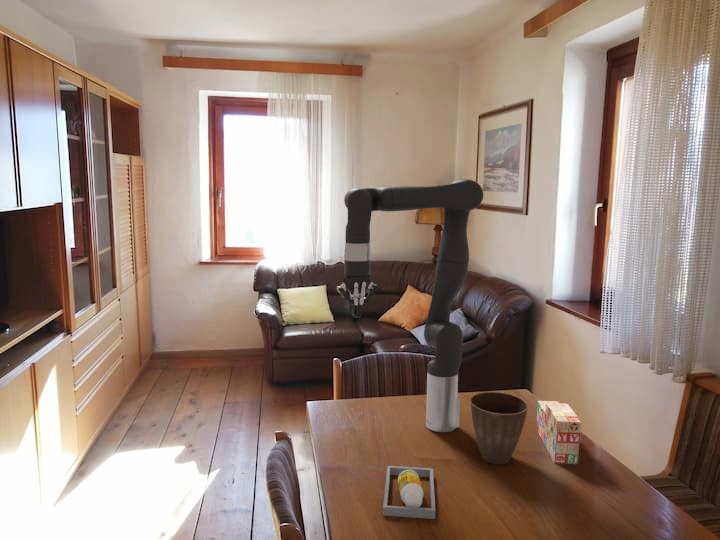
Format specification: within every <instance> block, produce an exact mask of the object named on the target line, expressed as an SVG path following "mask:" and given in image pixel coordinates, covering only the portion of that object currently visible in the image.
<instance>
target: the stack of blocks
mask: <svg viewBox="0 0 720 540" xmlns="http://www.w3.org/2000/svg"><path fill="white" fill-rule="evenodd" d="M536 403H537V404H536V411H537V412H536V431H537V432H538V434H539V436H540V439H541V441H542V440H543V441H542V442H543V444H544V446H545V448H546V449H547V451H548V454H549V456H550V457H551V460H552V462H553V463H554V464H557V465H558V464H561V465H563V464H564V465H578V464H579V455H580V454H579V451H580V443H581V433H582V431H581V430H582V421H581V420H580V418H579V417H578V415H577V414H576V412H575V411H574V410H573V409H572V407H570V405H569V404H568V403H560V402H559V401H557V400H556V401H555V400H537V402H536Z"/></svg>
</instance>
